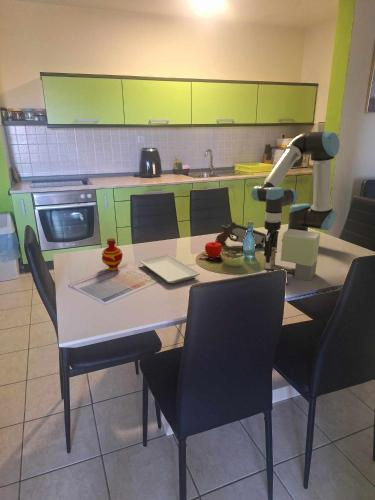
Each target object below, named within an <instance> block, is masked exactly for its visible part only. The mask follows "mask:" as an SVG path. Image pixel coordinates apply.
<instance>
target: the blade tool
mask: <svg viewBox="0 0 375 500" xmlns="http://www.w3.org/2000/svg"><path fill="white" fill-rule="evenodd" d="M276 251H277V250H276V248H275V247H272V252H271V256H272V259H271V269H270V270H276V271H280V270H281V269H284V270H286V271H287V272H286V273H289V274H290V273H291V274H295V267H290V266H285V265H279V264H276V258H277V257H276V255H277V253H276ZM265 259H266V256H264V260H265ZM263 268H264V269H266V268H265V262H264V267H263Z"/></svg>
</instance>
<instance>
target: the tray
mask: <svg viewBox="0 0 375 500" xmlns="http://www.w3.org/2000/svg"><path fill="white" fill-rule="evenodd" d="M139 263H140V264H142V265H144V266H145V267H146V268H147V269H149V270H150V271H151V272H152V273H154V274H156V275H157V276H158V277H160V278H161V279H163V280H164V281H166V282H167V283H168V284H176V283H181V282H184V281H185V282H186V281H189V280H191V279H194V278H196V277H198V276H200V274H201V273H200V272H199V271H198V270H196V269H195V268H193V267H191V266H189V265H187V264H186V263H184V262H182V261H181V260H178V259H177V258H175V257H174V256H172V255H170V254H161V255H158V256H153V257H148V258H144V259H140V260H139Z"/></svg>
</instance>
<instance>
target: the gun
mask: <svg viewBox="0 0 375 500" xmlns="http://www.w3.org/2000/svg"><path fill="white" fill-rule="evenodd" d="M220 228H221V229H223V232H221V233H219V234H217V235H216V238H215V241H214V242H217V243H220V244H221V245H222V246H224V247H225V246H226V243H227V240H228V239H229V240H230V241H232V242H236V243H237V242H239V243H240V244H241V243H242V244H244V243H243V239H244V236H245V234H246V230H247V228H248V227H246V226H243V225H241V224H237V223H236V222H235V221H232V222H231V223H230V224H229V223H228V224H227V226H226V225H223V224H222V225H221V226H220ZM252 230H253V234H254V237H255V244H256V246H255V247H254V248H257V249H260V248H263V247H265V236H266V235H267V233H264V232H260V231H259V230H255V229H252ZM234 237H236V238H234ZM266 237H267V236H266Z"/></svg>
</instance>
